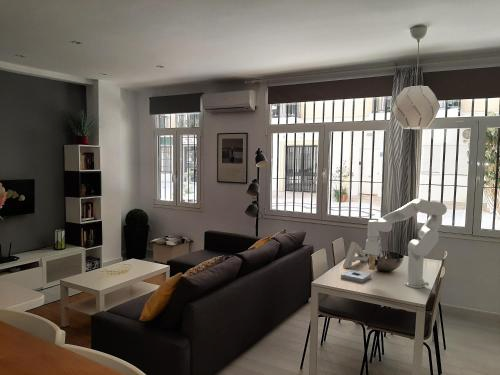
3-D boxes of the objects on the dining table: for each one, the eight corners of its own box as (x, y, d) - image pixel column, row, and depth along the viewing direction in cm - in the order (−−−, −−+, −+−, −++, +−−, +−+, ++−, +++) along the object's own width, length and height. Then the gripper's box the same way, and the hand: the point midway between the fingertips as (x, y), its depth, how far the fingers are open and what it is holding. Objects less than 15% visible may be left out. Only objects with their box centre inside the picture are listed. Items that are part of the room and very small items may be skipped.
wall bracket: (361, 282, 323) (347, 267, 304) (356, 281, 326) (342, 266, 307) (369, 258, 331) (356, 242, 312) (365, 257, 334) (351, 241, 315)
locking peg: (376, 268, 269) (376, 254, 268) (374, 270, 265) (374, 255, 265) (370, 267, 271) (371, 253, 270) (368, 269, 268) (368, 255, 267)
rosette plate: (370, 277, 282) (371, 273, 282) (362, 283, 270) (362, 279, 270) (350, 273, 292) (350, 269, 292) (340, 278, 280) (340, 274, 279)
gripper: (387, 239, 264) (386, 265, 266) (363, 236, 275) (363, 261, 276) (383, 240, 259) (382, 268, 260) (359, 237, 269) (358, 263, 270)
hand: (372, 264), depth 268 cm, fingers closed on locking peg, 4 cm apart
